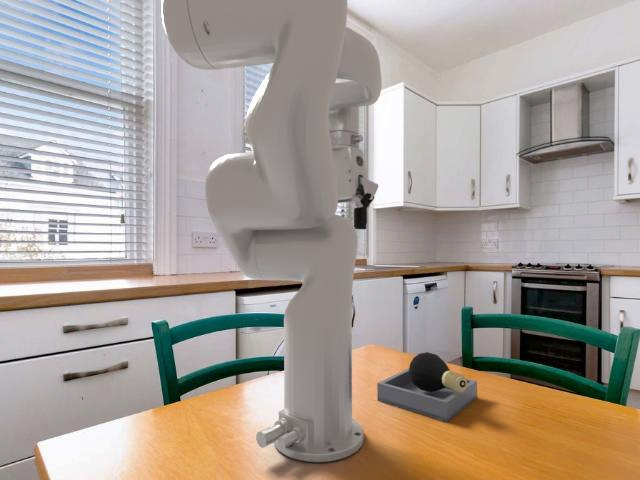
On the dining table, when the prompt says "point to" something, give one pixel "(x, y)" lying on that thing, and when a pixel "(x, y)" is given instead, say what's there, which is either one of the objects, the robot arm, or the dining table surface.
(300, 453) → the robot arm
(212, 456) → the dining table surface
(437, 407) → the parts tray
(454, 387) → the light bulb
